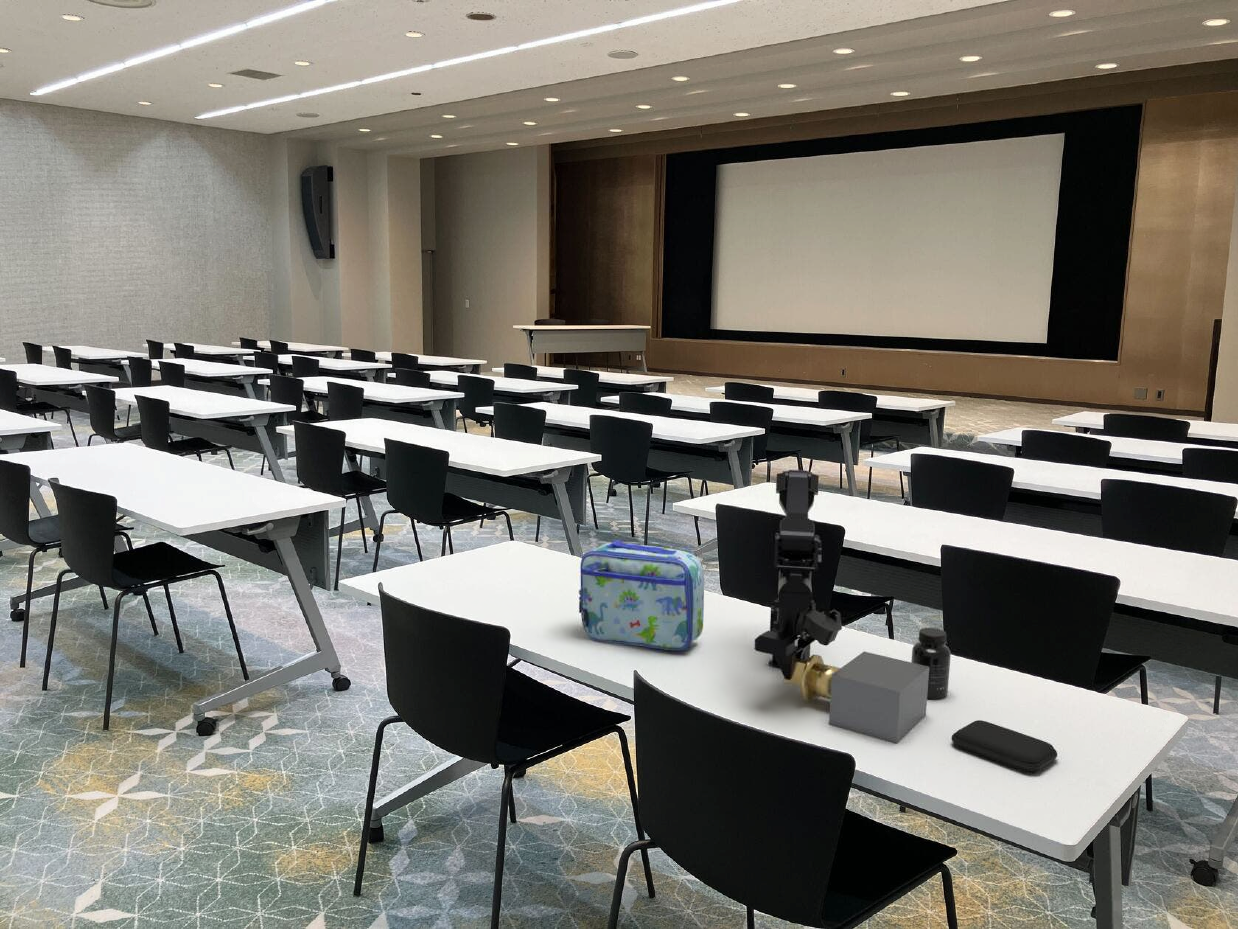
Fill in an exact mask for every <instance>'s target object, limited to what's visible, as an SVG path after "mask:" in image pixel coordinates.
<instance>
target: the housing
mask: <svg viewBox="0 0 1238 929" xmlns="http://www.w3.org/2000/svg"><path fill="white" fill-rule="evenodd" d="M839 668H840V669H839V670H838V671H836V672H835V673H833V674H832V679H831V698H830V699H829V701H830V703H829V720H828V724H829V725H831V726H833V727H838V728H840V729H844V730H848V731H852V732H853V733H854V732H855V733H859V734H862V735H864V736H869V737H873V738H875V739H879V740H883V741H886V742H889V743H893V744H898V743H899V742H900V741H901V740H902V739H903V738H904V737H905V736H907V735H908V734H909V733H910V731H912V729H913V728H915V726H916V725H917V724H918V723H920V722H921V720H923V719H924V718H925V717H926V716H927V703H928V699H927V692H928V678H929V667H928V666H924V665H920V664H915V663H911V661H908V660H907V661H906V660H902V659H899V658H893V657H889V656H886V655H880V654H877V653H873V652H868V651H864V650H863V652H861V653H859V654H858V655H857V656H856V657H854V658H853V659H851V660H850V661H848V662H847V663H846V664H845V665H843V666H842V667H839Z"/></svg>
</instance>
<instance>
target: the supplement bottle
mask: <svg viewBox="0 0 1238 929" xmlns="http://www.w3.org/2000/svg"><path fill="white" fill-rule="evenodd" d="M946 644H947V632H946V631H944V630H943V629H940V628H936V627H922V628H920V629H919V631H918V642H916V643H915V644H914V645H913V647H912V650H911V661H910V662H911V663H915V664H920V665H924V666H928V667H929V678H928V692H927V700H931V701H932V700H942V699H943V698H946V697H947V695H948V691H949V690H948V689H949V683H950V682H949V680H950V671H951V670H950V668H951V667H950V666H951V656H952V655H951V650H950V648H949V647H948V646H947V645H946Z"/></svg>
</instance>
